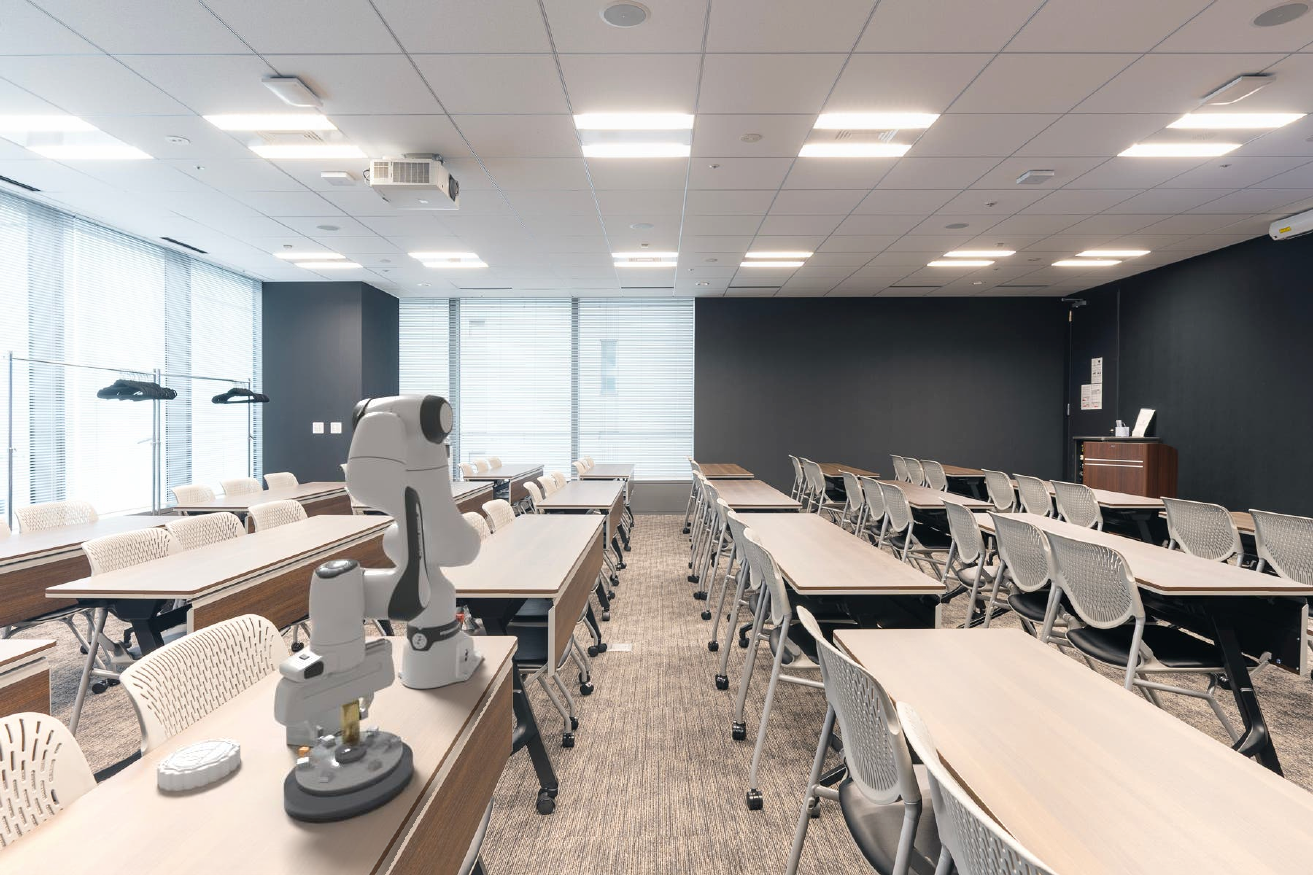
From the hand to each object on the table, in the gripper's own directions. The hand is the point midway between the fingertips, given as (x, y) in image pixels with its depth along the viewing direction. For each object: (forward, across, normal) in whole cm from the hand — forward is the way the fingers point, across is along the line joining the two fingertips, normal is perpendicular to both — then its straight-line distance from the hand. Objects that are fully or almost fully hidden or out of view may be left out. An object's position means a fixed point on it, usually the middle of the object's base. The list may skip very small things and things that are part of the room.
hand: (339, 728), depth 107 cm
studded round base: (+5, +1, +5) cm, 7 cm away
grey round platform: (+8, +1, +5) cm, 10 cm away
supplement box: (+8, -4, -17) cm, 19 cm away
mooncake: (+9, +14, -22) cm, 27 cm away
